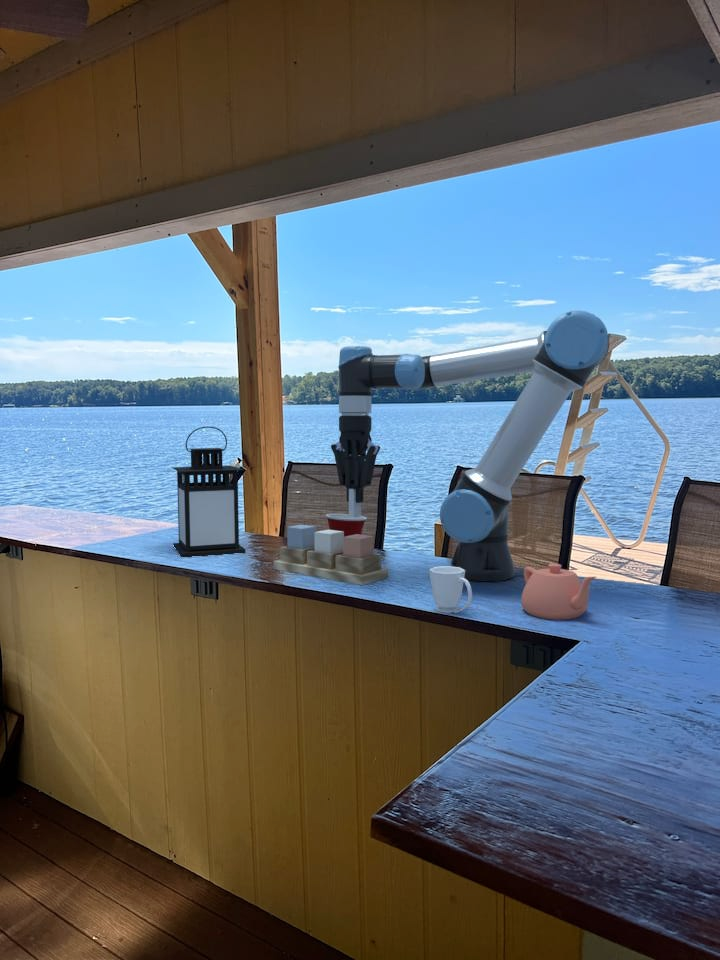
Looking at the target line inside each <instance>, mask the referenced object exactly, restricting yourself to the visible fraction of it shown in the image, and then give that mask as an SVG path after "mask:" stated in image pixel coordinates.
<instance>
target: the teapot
mask: <svg viewBox="0 0 720 960" xmlns="http://www.w3.org/2000/svg"><path fill="white" fill-rule="evenodd" d="M523 576H524V581H525V586H524V588H523V589H522V594H521V601H520V603H521V606H522V607H523V609H524V610H525V612H526V613H527V614H529V615H531V616H534V617H536V618H539V619H545V620H553V619H556V620H555V621H557V620H560V619H564V620H572V619H571V618H573V619H576V617H577V618H579V617H581V616H582V615H583V614H584V613H585V612H586V610H587V609H588V607H589V603H588V601H589V598H590V587H591V583H592V581H594V579H596V578H597V576H586V577H584V578H583V579H582V581H581V580H580V578H579V576H578V574H577V573H576V572H575V571H573V570H568V569H564V568H562V565H561V564H560V563H549V564H548V568H539V569H536V568H534V567H532V566H526V567H524V569H523ZM578 616H579V617H578ZM560 621H561V620H560Z"/></svg>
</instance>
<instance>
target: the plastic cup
mask: <svg viewBox="0 0 720 960" xmlns="http://www.w3.org/2000/svg"><path fill="white" fill-rule="evenodd" d="M325 516H326V518H327V524H328V528H329V530H336V531H344V537H345V536H350V535H355V534H360V535H362V533H363V528H364V525H365V522H366V521H367V519H368V517H367V516H362V515H361V516H359V517H349V513H348V514H347V513H328V514H327V513H326V514H325Z"/></svg>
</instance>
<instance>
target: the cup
mask: <svg viewBox="0 0 720 960" xmlns="http://www.w3.org/2000/svg"><path fill="white" fill-rule="evenodd" d="M428 571H429V578H430V583H431V592H432V596H433V597H432V598H433V600H434V604H435V605H436V606H437V607H435V611H437V612H438V611H439V612H438V613H443V612H445V613H444V614H450V613H449V612H454V614H459V613H461V612H463V611H465V610H466V609H468V607H469V606H471V604H472V601H473V592H472V586H471V584H470V581H469V580H466V579H465V578H464V576H465V570H464V569H462V568H460V567H452V566H450V565H442V566H441V565H440V566H435V567H431V568H429V569H428ZM464 585H465V586H466V588H467V589H466V590H467V596H468V597H467V602H466V603H465V605H464V606H462V607H461V608H460V609H459V608H458V606H459V604H460V601H461V599H462V593H463V587H464ZM457 610H458V611H457Z"/></svg>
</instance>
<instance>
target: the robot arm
mask: <svg viewBox="0 0 720 960" xmlns="http://www.w3.org/2000/svg"><path fill="white" fill-rule="evenodd" d="M609 337H610V336H609V333H608V329H607V327H606V324H605V323H604V322H603V321H602V320H601V318H599V317H598V316H596V315H595V314H593V313H591V312H589V311H585V310H571V311H570V310H569V311H567V312H564V313H562V314H560V315H559V316H557V317H556V318H555V319H554V320H553V321H552V322H551V323H550V325H549V326H548V327H547V329H546V330H543V331H541V333H540V334H539V335H538V336H534V337H529V338H524V339H517V340H511V341H507V342H501V343H494V344H490V345H482V346H477V347H472V348H467V349H461V350H455V351H448V352H443V353H437V354H431V355H425V356H421V355H420V354H411V353H410V354H409V353H403V354H385V355H384V354H383V355H382V354H380V355H379V354H376V355H375V354H373V350H372V348H371V347H369V346H364V345H362V346H360V345H359V346H358V345H357V346H356V345H355V346H354V345H353V346H352V345H348V346H344V347H342V348H341V349H340V351H339V357H338V358H339V360H338V366H337V367H338V389H339V390H338V413H339V414H341V415H339V417H338V431H339V433H340V435H339V438H338V441H337V442H336V443H334V444H333V443H332V444H331V446H330V449H331V451H332V453H333V455H334V459H335V465H336V471H337V475H338V477H337V478H338V481H339V485H340V486H343V487H345V489H346V501H347V503H348V514H349V517H359V516H362V503H363V502H364V489H365V488H367V487H370V486H371V485H372V481H373V480H372V479H373V474H374V470H375V465H376V461H377V456H378V454H379V452H380V450H381V447H380V445H376V444H374V442H372V436H371V431H372V419H373V418H372V417H371V416H370V414H371V413H372V395H373V393H372V390H373V389H390V390H391V389H394V390H395V389H399V390H409V391H413V392H417V391H418V392H419V391H423V390H425V389H429V388H434V387H441V386H447V385H454V384H461V383H466V382H467V383H469V382H474V381H480V380H486V379H492V378H493V379H494V378H501V377H507V376H513V375H520V374H525V373H532V372H533V373H532V375H531V377H530V378H529V380H528V382H527V383H526V385H525V386H524V388H523V390H522V391H521V393H520V395H519V396H518V397H517V399H516V402H515V403H514V405H513V407H512V408H511V410H509V413H508V415H507V416H506V418H505V419H504V421H503V422H502V424H501V426H500V427H499V429H498V431H497V432H496V434H495V435H494V437H493V439H492V441H491V442H490V444H489V445H488V447H487V449H486V450H485V452H484V454H483V455H482V457H481V459H480V461H479V462H478V464H477V465H476V467H474V468H471V469H468V470H467V469H466V470H465V471H464V473H463V475H462V476H461V478H460V479H459V481H458V483H457V485H456V486H455V488H454V489H453V490H452V492H450V493H449V494H448V495H447V496H446V497H445V498H444V500H443V501H442V503H441V506H440V509H439V520H440V524H441V527H442V529H443V530H444V531H445V532H446V534H447V535H448V536H449V537H450V538H452V539H453V540H455V541H457V543H456V547H455V549H454V552H453V556H452V559H451V562H450V565H449V566H452V567H460V568H462V569H464V570H465V576H464V578H465V579H466V580H468V581H475V582H498V581H506V580H510V579H512V578H515V570H516V569H515V564H514V561H513V557H512V553H511V551H510V548H509V543H508V535H509V534H508V533H509V532H508V531H509V529H508V528H509V526H508V525H509V505H510V502H512V500H513V495H512V493H511V492H512V491H511V488H512V487H513V484H514V483H515V481H516V480H517V478H518V476H520V473H521V471H522V470H523V469H524V467H525V465H526V464H527V462H528V461H529V459H530V458H531V456H532V454H533V453H534V451H535V450H536V448H537V446H538V445H539V444H540V442H541V440H542V439H543V437H544V436H545V434H546V432H547V431H548V429H549V428H550V426H551V424H552V423H553V421H554V420H555V418H556V416H557V415H558V413H559V412H560V409H562V406H563V405H564V404H565V402H566V400H567V399H568V397H569V396H570V394H571V393H572V392H574V391H577V390H578V391H579V390H580V389H581V390H582V389H583V387H584V386H585V384H586V383H587V381H588V380H589V378H590V377H591V375H592V374H593V372H594V371H595V369H596V368H597V367H598V366H600V364H602V363H603V361H604V360H605V359H606V357H607V355H608V353H609V350H610V338H609Z"/></svg>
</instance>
